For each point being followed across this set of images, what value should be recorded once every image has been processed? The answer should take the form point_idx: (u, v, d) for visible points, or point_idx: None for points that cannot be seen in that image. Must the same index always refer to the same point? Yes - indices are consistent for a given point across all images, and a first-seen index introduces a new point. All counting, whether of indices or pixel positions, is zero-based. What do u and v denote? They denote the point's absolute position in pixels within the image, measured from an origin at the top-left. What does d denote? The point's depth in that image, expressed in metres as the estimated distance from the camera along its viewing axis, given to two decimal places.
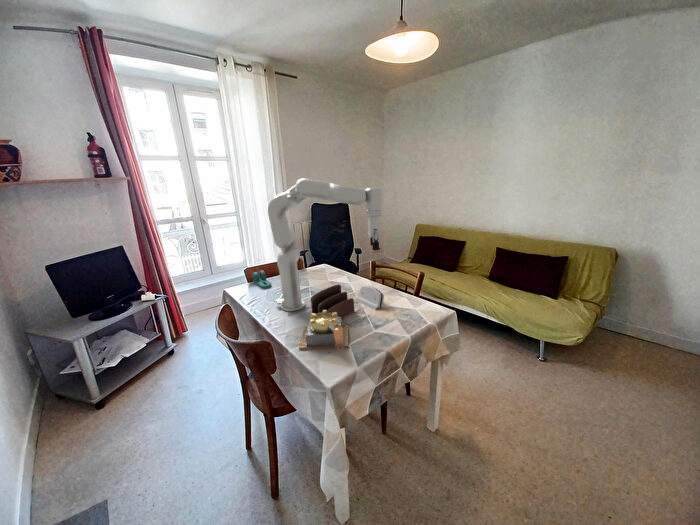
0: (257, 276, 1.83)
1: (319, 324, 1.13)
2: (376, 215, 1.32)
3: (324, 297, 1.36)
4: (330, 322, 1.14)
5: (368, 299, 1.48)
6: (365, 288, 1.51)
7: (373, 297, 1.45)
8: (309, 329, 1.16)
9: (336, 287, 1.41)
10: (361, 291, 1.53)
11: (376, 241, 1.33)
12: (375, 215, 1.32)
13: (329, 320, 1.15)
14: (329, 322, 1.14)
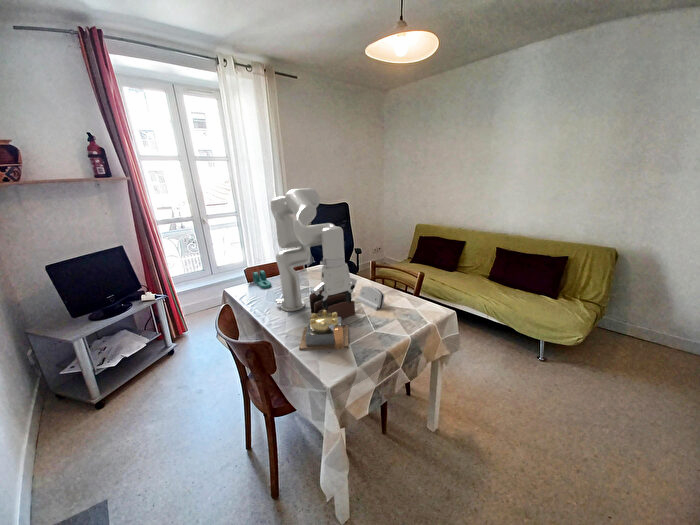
0: (257, 276, 1.83)
1: (319, 324, 1.13)
2: None
3: None
4: (330, 322, 1.14)
5: (369, 299, 1.48)
6: (365, 288, 1.51)
7: (374, 297, 1.45)
8: (309, 329, 1.16)
9: None
10: (362, 291, 1.53)
11: None
12: None
13: (329, 320, 1.15)
14: (329, 322, 1.14)
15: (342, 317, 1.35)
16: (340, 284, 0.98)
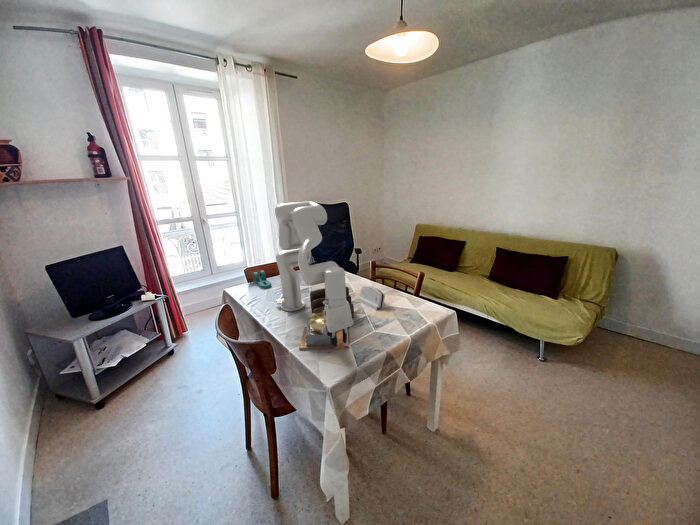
0: (257, 276, 1.83)
1: (319, 324, 1.13)
2: None
3: None
4: None
5: (369, 299, 1.48)
6: (366, 288, 1.51)
7: (374, 297, 1.45)
8: (309, 329, 1.16)
9: None
10: (362, 291, 1.53)
11: None
12: None
13: None
14: None
15: None
16: (342, 321, 1.02)
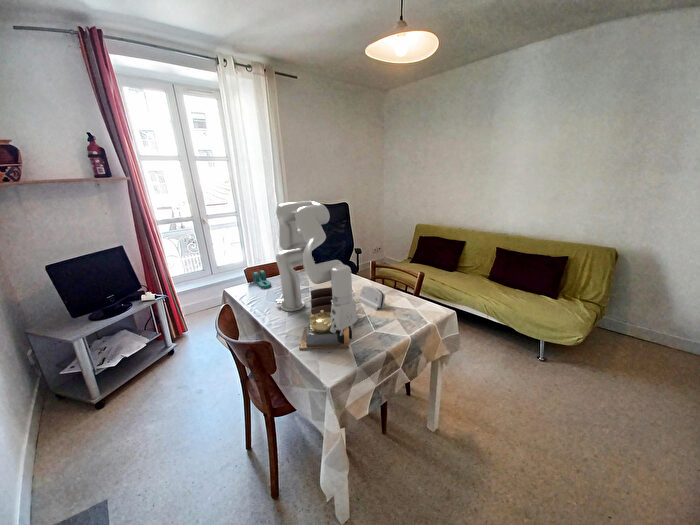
0: (257, 276, 1.83)
1: (322, 324, 1.12)
2: None
3: (327, 295, 1.39)
4: None
5: (369, 299, 1.48)
6: (366, 288, 1.51)
7: (374, 297, 1.45)
8: (309, 329, 1.16)
9: None
10: (363, 291, 1.53)
11: None
12: None
13: (330, 319, 1.16)
14: None
15: None
16: (349, 318, 1.05)
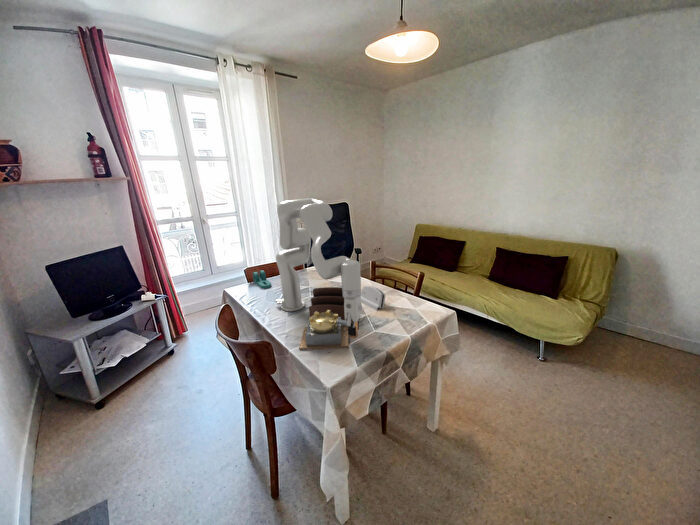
0: (257, 276, 1.83)
1: (328, 323, 1.13)
2: None
3: (328, 295, 1.39)
4: (334, 318, 1.16)
5: (370, 299, 1.48)
6: (367, 288, 1.51)
7: (374, 297, 1.45)
8: (309, 329, 1.16)
9: None
10: (363, 291, 1.53)
11: None
12: None
13: (331, 317, 1.17)
14: (333, 319, 1.16)
15: None
16: (359, 309, 1.11)
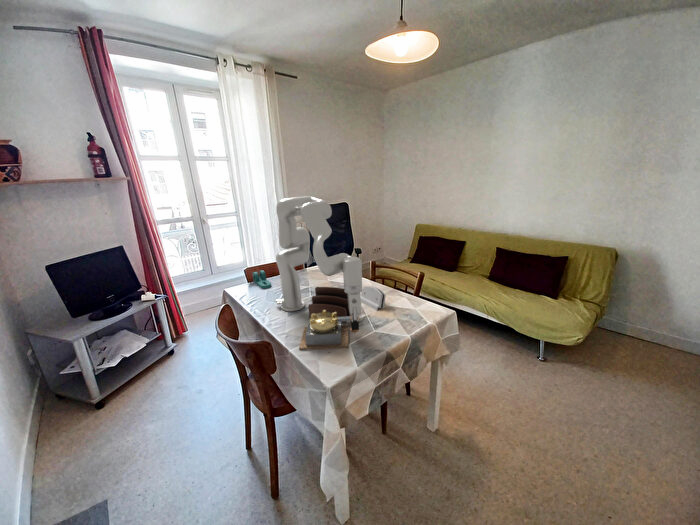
0: (257, 276, 1.83)
1: (331, 322, 1.14)
2: None
3: (329, 294, 1.39)
4: (334, 317, 1.18)
5: (370, 299, 1.48)
6: (367, 288, 1.51)
7: (375, 297, 1.45)
8: (309, 329, 1.16)
9: None
10: (363, 291, 1.53)
11: None
12: None
13: (330, 316, 1.18)
14: (333, 317, 1.18)
15: None
16: None
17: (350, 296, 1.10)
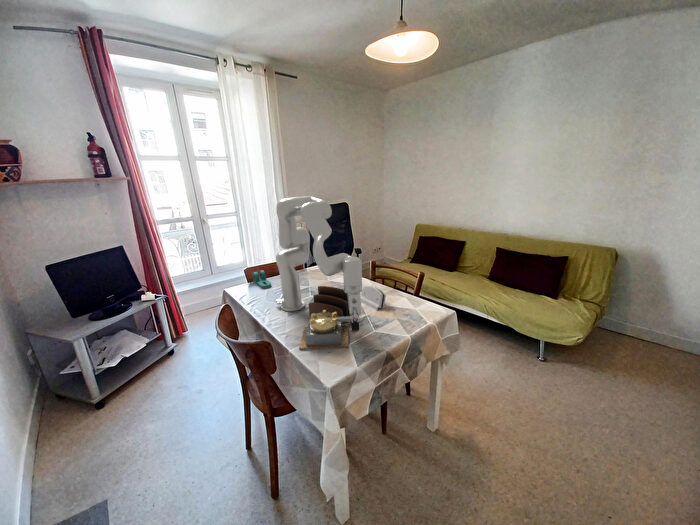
0: (257, 276, 1.83)
1: (331, 322, 1.14)
2: None
3: (331, 294, 1.40)
4: (334, 317, 1.18)
5: (370, 299, 1.48)
6: (367, 288, 1.51)
7: (375, 297, 1.45)
8: (309, 329, 1.16)
9: (344, 292, 1.35)
10: (364, 291, 1.53)
11: None
12: None
13: (330, 316, 1.18)
14: (333, 317, 1.18)
15: None
16: None
17: (350, 296, 1.10)
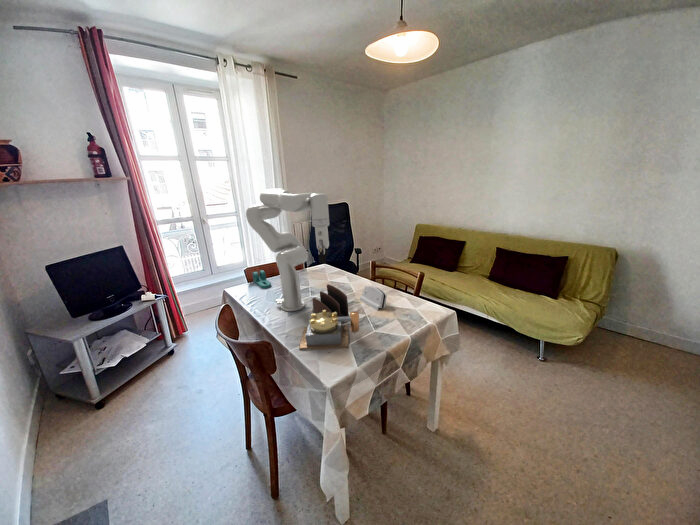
0: (257, 276, 1.83)
1: (331, 322, 1.14)
2: None
3: (334, 294, 1.39)
4: (334, 317, 1.18)
5: (371, 299, 1.48)
6: (368, 288, 1.51)
7: (376, 297, 1.45)
8: (309, 329, 1.16)
9: (342, 295, 1.32)
10: (365, 291, 1.53)
11: None
12: None
13: (330, 316, 1.18)
14: (333, 317, 1.18)
15: None
16: (328, 239, 1.25)
17: (316, 229, 1.18)
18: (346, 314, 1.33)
